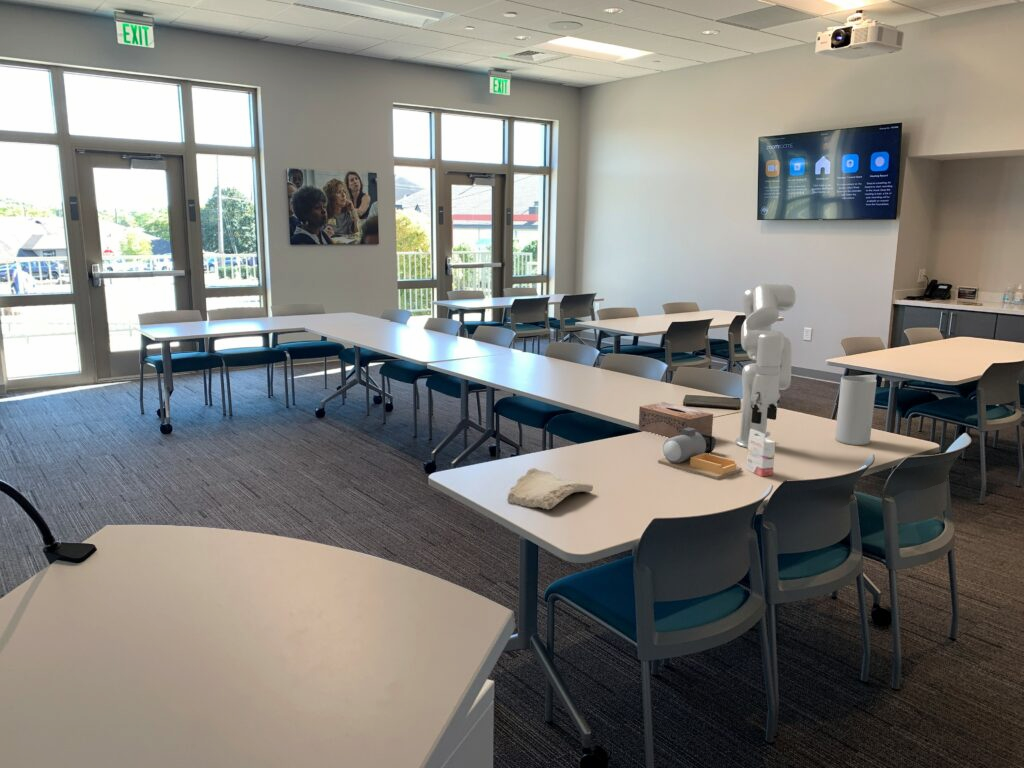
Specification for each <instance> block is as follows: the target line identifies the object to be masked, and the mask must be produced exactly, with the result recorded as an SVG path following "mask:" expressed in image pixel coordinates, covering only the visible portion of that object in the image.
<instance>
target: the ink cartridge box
mask: <svg viewBox="0 0 1024 768" xmlns="http://www.w3.org/2000/svg"><path fill="white" fill-rule="evenodd" d="M755 434H758V435H760V436H755ZM775 452H776V441H774V440H771V439H769V438H767V437H766V438H765V434H764V433H761V432H759V431H756V430H753V429H750V434H749V441H748V448H747V457H746V468H745V469H746V471H749V472H751V473H753V474H755V475H758V476H760V477H769V475H770V476H773V474H774V465H775V464H774V463H775Z"/></svg>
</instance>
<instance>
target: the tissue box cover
mask: <svg viewBox="0 0 1024 768" xmlns="http://www.w3.org/2000/svg"><path fill="white" fill-rule="evenodd" d="M713 421H714V413H710V412H707V411H706V412H705V411H702V410H698V409H693V408H691V407H686V406H683V405H677V404H673V403H669V402H666V401H661V402H655V403H652V404H651V403H650V404H645V405H640V406H639V411H638V430H639V431H643V432H646V433H649V432H651V433H650V434H653V433H655V434H654V435H656V434H658V435H657V436H660V435H661V437H663V436H665V437H664V438H666V437H668V438H667V439H669V438H672V437H676V436H679V435H682V429H685V428H688V427H689V428H694V429H696V432H698V433H700V434H704V435H709V436H713V425H714V424H713Z"/></svg>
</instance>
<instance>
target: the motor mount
mask: <svg viewBox="0 0 1024 768" xmlns="http://www.w3.org/2000/svg"><path fill="white" fill-rule="evenodd" d="M705 450H706V442H705V439H704V437H703V436H702V435H701V434H700V433H698V432H696V429H694V428H689V427H688V428H685V429H682V435H679V436H676V437H672V438H667V439H665V441H664V443H663V445H662V451H663V455H664V458H660V459H657V463H658V464H661V465H664V466H667V465H668V467H672V468H674V467H675V469H678V468H679V469H678V470H681V469H682V470H681V471H686V472H688V471H689V472H688V473H692V472H693V473H692V474H695V473H696V475H699V474H700V475H699V476H702V475H703V476H702V477H706V476H707V477H706V478H709V477H710V478H709V479H713V478H714V479H713V480H716V479H718V480H720V479H723V478H725V476H726V477H728V476H731V475H734V474H736V473H739V472H742V471H743V469H742V467H741V466H738V465H737V463H735V461H736V460H733V459H730V458H726V457H723V456H719V455H715V454H711V453H710V454H708V453H704V452H705ZM741 470H742V471H741ZM738 471H739V472H738ZM733 473H734V474H733ZM730 474H731V475H730ZM722 477H723V478H722ZM719 478H720V479H719Z"/></svg>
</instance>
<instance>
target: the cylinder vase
mask: <svg viewBox="0 0 1024 768" xmlns="http://www.w3.org/2000/svg"><path fill="white" fill-rule="evenodd" d="M876 390H877V379H875V378H872V377H867V376H860V375H859V376H857V375H846V376H841V378H840V385H839V395H838V396H839V399H838V405H837V407H838V408H837V416H836V427H835V435H834V436H835V437H834V438H835V440H836V441H837V442H839V443H842V444H846V445H851V446H866V445H868V444H870V442H871V436H872V428H873V427H872V426H873V417H874V408H875V407H874V406H875V401H876V399H875V398H876Z"/></svg>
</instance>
